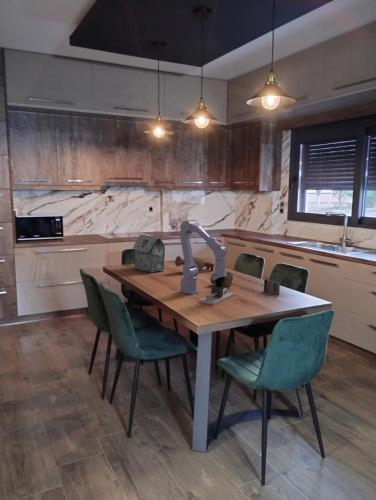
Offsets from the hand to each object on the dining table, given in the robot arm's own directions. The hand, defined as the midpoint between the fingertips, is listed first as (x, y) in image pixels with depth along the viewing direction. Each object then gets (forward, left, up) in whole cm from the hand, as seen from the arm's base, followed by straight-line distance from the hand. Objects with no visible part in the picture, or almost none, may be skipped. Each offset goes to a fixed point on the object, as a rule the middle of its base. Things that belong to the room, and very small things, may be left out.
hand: (219, 289), depth 232 cm
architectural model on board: (+20, +29, -6) cm, 36 cm away
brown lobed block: (-11, +23, -5) cm, 26 cm away
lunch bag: (-81, +35, -5) cm, 88 cm away
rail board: (0, -2, -5) cm, 5 cm away
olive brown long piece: (-50, +51, -5) cm, 71 cm away
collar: (0, -3, -3) cm, 4 cm away
